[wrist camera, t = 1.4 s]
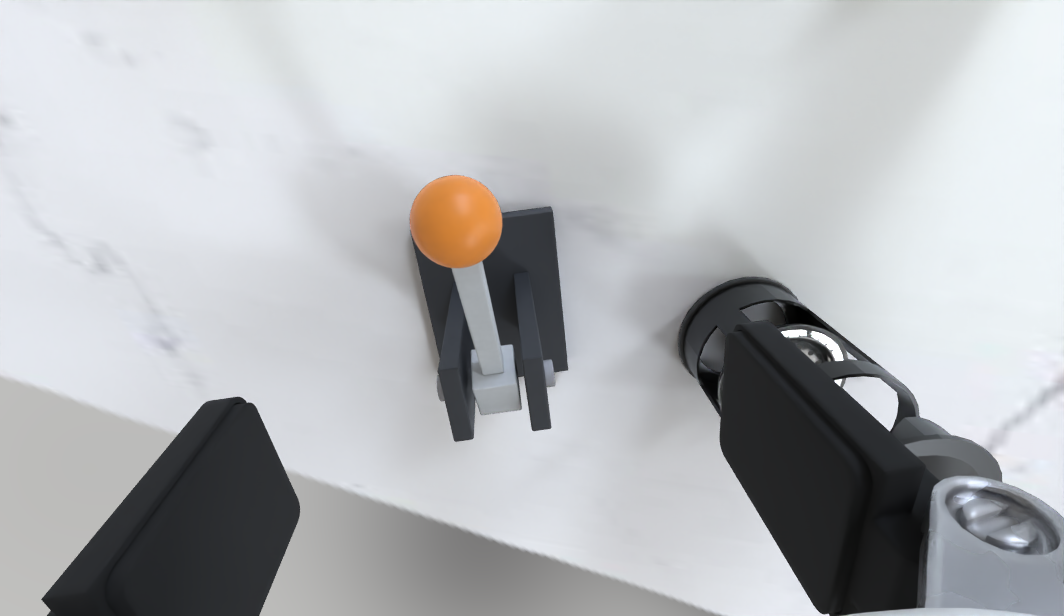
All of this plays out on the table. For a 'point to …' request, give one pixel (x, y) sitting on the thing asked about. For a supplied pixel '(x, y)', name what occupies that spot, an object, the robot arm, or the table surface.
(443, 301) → the switch bracket
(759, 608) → the table surface
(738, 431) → the robot arm
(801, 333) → the french press
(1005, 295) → the table surface
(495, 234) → the switch lever
